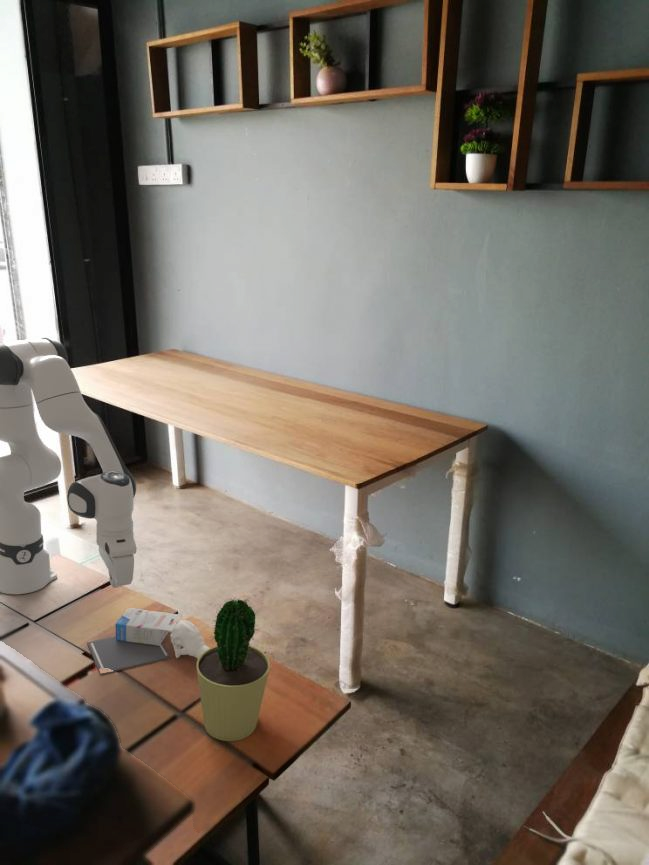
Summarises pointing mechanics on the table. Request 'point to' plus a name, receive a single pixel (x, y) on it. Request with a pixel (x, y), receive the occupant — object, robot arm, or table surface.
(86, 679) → the table surface
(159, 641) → the ink box
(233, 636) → the potted cactus
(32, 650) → the table surface
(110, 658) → the mat
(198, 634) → the white irregular lumpy piece
